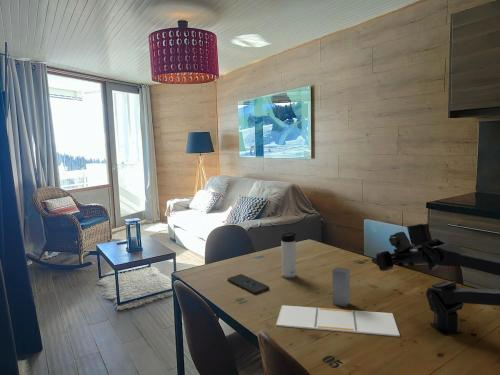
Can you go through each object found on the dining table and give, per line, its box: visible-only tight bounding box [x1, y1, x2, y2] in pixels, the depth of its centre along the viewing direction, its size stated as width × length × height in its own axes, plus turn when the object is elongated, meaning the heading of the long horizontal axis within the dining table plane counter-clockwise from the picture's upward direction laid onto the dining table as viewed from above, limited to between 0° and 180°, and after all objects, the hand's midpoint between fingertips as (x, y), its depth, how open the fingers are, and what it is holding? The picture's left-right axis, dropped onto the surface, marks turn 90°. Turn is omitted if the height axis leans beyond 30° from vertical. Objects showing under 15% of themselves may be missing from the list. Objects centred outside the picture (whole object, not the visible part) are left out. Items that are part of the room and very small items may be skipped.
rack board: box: [275, 305, 401, 337], centre depth 117 cm, size 38×14×1 cm, turn 77°
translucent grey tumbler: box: [331, 266, 351, 308], centre depth 128 cm, size 5×4×13 cm
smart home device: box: [227, 273, 270, 296], centre depth 149 cm, size 8×2×20 cm
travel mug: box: [280, 232, 297, 279], centre depth 156 cm, size 6×7×20 cm
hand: (380, 258), depth 130 cm, fingers open, 9 cm apart
